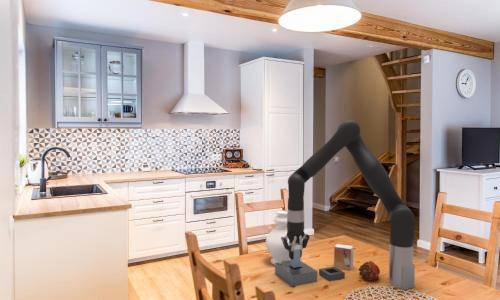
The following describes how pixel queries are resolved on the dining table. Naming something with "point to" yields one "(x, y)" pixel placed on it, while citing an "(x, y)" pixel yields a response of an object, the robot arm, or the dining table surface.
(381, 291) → the dining table surface
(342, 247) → the small box
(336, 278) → the holster
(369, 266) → the dragon fruit
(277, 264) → the port
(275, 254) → the decorative vase
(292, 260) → the plug
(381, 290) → the dining table surface
